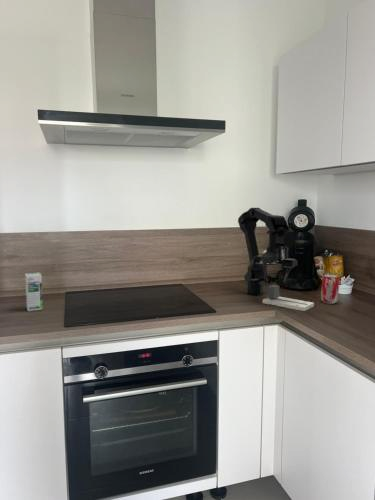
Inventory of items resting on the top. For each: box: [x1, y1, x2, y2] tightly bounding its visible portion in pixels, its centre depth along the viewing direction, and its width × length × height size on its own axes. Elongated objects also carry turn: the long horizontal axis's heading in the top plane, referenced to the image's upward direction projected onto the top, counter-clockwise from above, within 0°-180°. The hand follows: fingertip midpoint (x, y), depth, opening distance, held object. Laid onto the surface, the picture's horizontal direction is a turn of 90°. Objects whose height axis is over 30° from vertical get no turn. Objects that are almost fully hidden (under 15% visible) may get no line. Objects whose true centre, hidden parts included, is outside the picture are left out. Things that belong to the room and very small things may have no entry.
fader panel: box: [262, 296, 315, 312], centre depth 166 cm, size 19×10×2 cm, turn 50°
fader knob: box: [267, 284, 280, 299], centre depth 170 cm, size 3×5×5 cm, turn 140°
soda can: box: [320, 274, 340, 305], centre depth 170 cm, size 7×7×12 cm
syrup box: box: [24, 272, 44, 312], centre depth 155 cm, size 6×6×14 cm
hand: (273, 280), depth 169 cm, fingers open, 9 cm apart
